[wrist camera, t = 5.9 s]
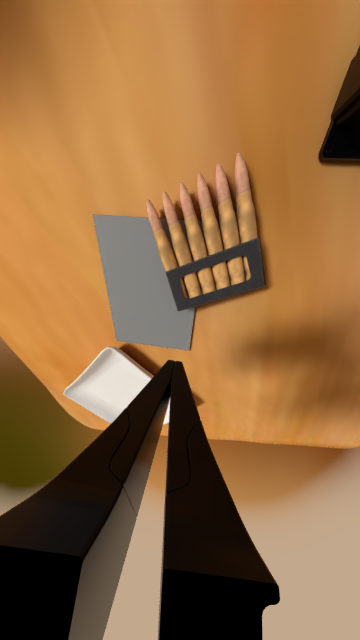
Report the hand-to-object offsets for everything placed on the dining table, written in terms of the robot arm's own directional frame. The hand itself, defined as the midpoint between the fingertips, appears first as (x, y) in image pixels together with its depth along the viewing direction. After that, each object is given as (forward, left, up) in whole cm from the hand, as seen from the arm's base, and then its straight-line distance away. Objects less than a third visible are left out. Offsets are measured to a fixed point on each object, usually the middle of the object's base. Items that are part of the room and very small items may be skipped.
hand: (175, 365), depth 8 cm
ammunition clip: (-4, -1, -11) cm, 12 cm away
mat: (+5, 0, -12) cm, 14 cm away
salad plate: (+11, +23, -13) cm, 29 cm away
